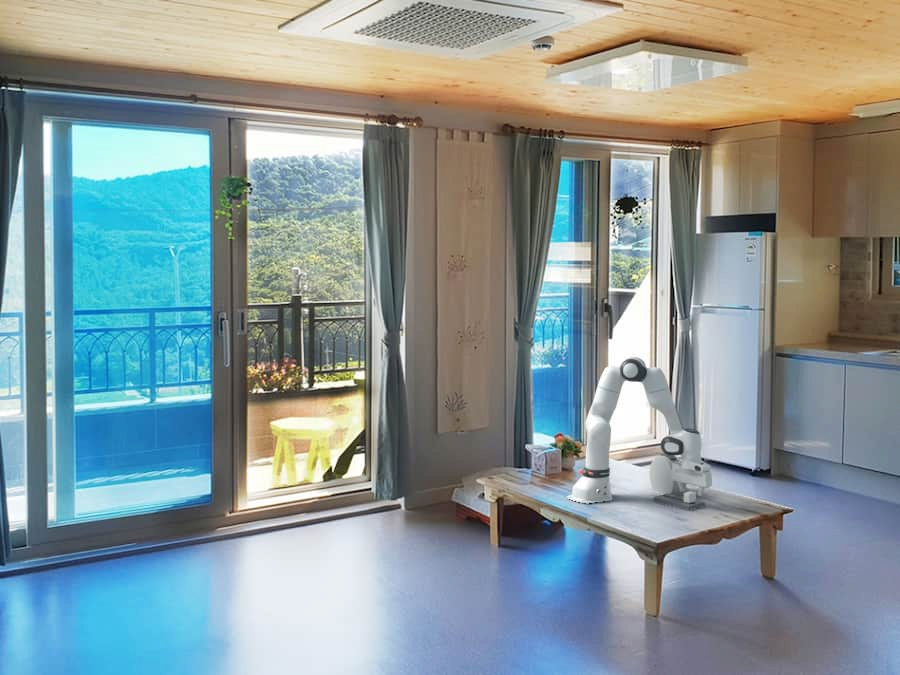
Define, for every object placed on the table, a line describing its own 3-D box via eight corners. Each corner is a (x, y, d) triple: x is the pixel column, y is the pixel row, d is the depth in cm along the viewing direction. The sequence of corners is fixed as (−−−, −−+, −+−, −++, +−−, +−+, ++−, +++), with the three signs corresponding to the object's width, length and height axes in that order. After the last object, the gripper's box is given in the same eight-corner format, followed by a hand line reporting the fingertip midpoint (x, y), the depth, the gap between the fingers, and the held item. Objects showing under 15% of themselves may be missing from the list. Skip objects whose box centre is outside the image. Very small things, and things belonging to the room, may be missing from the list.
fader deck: (688, 510, 394) (688, 506, 394) (653, 501, 410) (653, 496, 410) (704, 506, 402) (704, 501, 402) (669, 496, 417) (669, 492, 417)
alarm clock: (686, 498, 415) (687, 458, 414) (672, 500, 413) (673, 459, 411) (662, 487, 436) (663, 448, 434) (649, 489, 433) (650, 449, 432)
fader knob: (688, 505, 398) (689, 494, 398) (683, 503, 401) (683, 492, 400) (695, 503, 401) (695, 492, 401) (690, 502, 404) (690, 491, 403)
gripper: (668, 461, 406) (668, 490, 407) (705, 469, 390) (705, 499, 391) (676, 459, 410) (676, 488, 411) (714, 466, 394) (713, 496, 395)
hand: (690, 493), depth 401 cm, fingers open, 8 cm apart
